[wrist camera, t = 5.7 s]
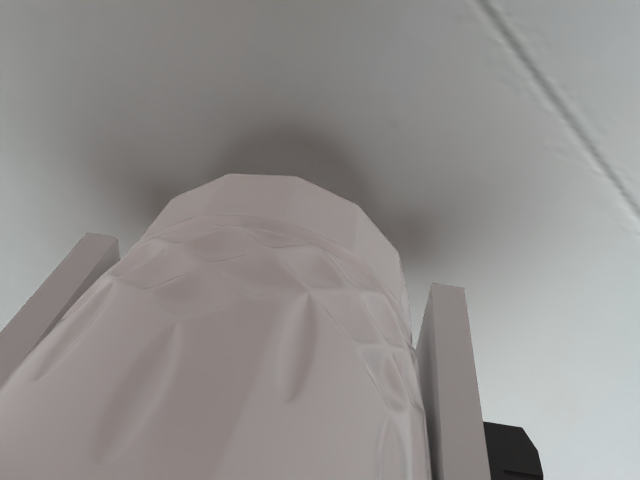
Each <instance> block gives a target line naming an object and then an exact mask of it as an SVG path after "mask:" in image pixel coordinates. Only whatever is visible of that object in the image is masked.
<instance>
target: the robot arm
mask: <svg viewBox="0 0 640 480" xmlns="http://www.w3.org/2000/svg"><path fill="white" fill-rule="evenodd" d="M119 261H120V257H119V248H118V239H117V237H112V236H105V235H98V234H91V233H86V235H85V236H84V237H83V238H82V239H81V240H80V241H79V243H78V244H77V245H76V246H75V247H74V248H73V250H72V251H71V252H70V253H69V254H68V255H67V256H66V258H65V259H64V260H63V261H62V262H61V263H60V265H59V266H58V267H57V268H56V269H55V270H54V271H53V273H52V274H51V275H50V276H49V277H48V278H47V280H46V281H45V282H44V283H43V284H42V285H41V286H40V288H39V289H38V290H37V291H36V292H35V293H34V295H33V296H32V297H31V298H30V299H29V300H28V301H27V303H26V304H25V305H24V306H23V307H22V308H21V309H20V311H19V312H18V313H17V314H16V315H15V316H14V318H13V319H12V320H11V321H10V322H9V323H8V324H7V326H6V327H5V328H4V329H3V330H2V331H1V333H0V385H1V384H2V383H3V382H4V381H5V380H6V378H7V377H8V376H9V375H10V374H11V373H12V371H13V370H14V369H15V368H16V367H17V366H18V365H19V364H20V363H21V362H22V360H23V359H24V358H25V357H26V356H27V355H28V354H29V353H30V352H31V351H32V350H33V349H34V348H35V347H36V346H37V345H38V344H39V343H40V342H41V341H42V340H43V339H44V338H45V337H46V336H47V335H48V334H49V333H50V332H51V331H52V330H53V328H54V327H55V325H56V324H57V323H58V322H59V320H60V319H61V318H62V317H63V316H64V315H65V314H66V312H67V311H68V310H69V309H70V308H71V307H72V306H73V305H74V303H75V302H76V301H77V300H78V299H79V298H80V297H81V296H82V295H83V294H84V293H85V292H86V291H87V290H88V289H89V288H90V287H91V286H92V285H93V284H94V283H95V281H96V280H97V279H98V277H99V276H100V275H101V274H103V273H105V272H106V271H107V270H109V269H110V268H111V267H112V266H114V265H115V264H116V263H117V262H119ZM415 351H416V353H417V356H418V362H419V369H420V378H421V390H422V402H423V406H424V410H425V414H426V426H427V433H428V442H429V451H430V460H431V471H432V480H543V472H542V467H541V463H540V459H539V454H538V451H537V449H536V448H535V446H534V445H533V443H532V442H531V440H530V439H529V437H528V436H527V434H526V433H525V431H524V430H523V428H521V427H515V426H509V425H502V424H496V423H490V422H483V419H482V412H481V405H480V398H479V391H478V384H477V377H476V370H475V362H474V355H473V348H472V341H471V334H470V327H469V320H468V313H467V306H466V298H465V291H464V288H462V287H455V286H448V285H441V284H434V283H432V284H431V288H430V292H429V296H428V301H427V305H426V309H425V313H424V317H423V321H422V326H421V330H420V334H419V338H418V342H417V346H416V350H415Z"/></svg>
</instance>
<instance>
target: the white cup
mask: <svg viewBox="0 0 640 480" xmlns="http://www.w3.org/2000/svg"><path fill="white" fill-rule="evenodd" d="M0 480H432V471H431V460H430V451H429V442H428V433H427V426H426V414H425V410H424V406H423V402H422V390H421V378H420V369H419V362H418V356H417V353H416V351H415V349H414V348H413V346H412V332H411V316H410V305H409V300H408V295H407V290H406V286H405V281H404V276H403V271H402V266H401V262H400V257H399V253H398V251H397V250H396V249H395V248H394V247H393V245H392V244H391V243H390V242H389V241H388V239H387V238H386V237H385V236H384V235H383V234H382V232H381V231H380V230H379V229H378V228H377V227H376V225H375V224H374V223H373V222H372V221H371V220H370V218H369V217H368V216H367V215H366V214H365V212H364V211H363V210H362V209H361V208H360V207H359V206H358V205H357V204H355V203H353V202H351V201H349V200H346V199H344V198H342V197H340V196H338V195H336V194H334V193H332V192H329V191H327V190H325V189H323V188H321V187H319V186H317V185H315V184H312V183H310V182H308V181H306V180H304V179H302V178H300V177H297V176H282V175H257V174H227V175H225V176H222V177H220V178H218V179H215V180H213V181H211V182H208V183H206V184H204V185H201V186H199V187H197V188H194V189H192V190H190V191H187V192H185V193H183V194H180V195H178V196H176V197H174V198H173V199H172V200H171V201H170V202H169V203H168V204H167V205H166V207H165V208H164V209H163V210H162V212H161V213H160V214H159V215H158V217H157V218H156V219H155V220H154V221H153V223H152V224H151V225H150V226H149V228H148V229H147V230H146V231H145V233H144V234H143V235H142V236H141V238H140V239H139V240H138V241H137V242H136V244H135V245H134V246H133V247H132V248H131V249H130V250H129V251H128V252H127V253H126V254H125V255H124V256H123V258H122V259H121V260H120V261H119V262H117V263H116V264H115V265H114V266H112V267H111V268H110V269H109V270H107V271H106V272H105V273H103V274H101V275H100V276H99V277H98V279H97V280H96V281H95V283H94V284H93V285H92V286H91V287H90V288H89V289H88V290H87V291H86V292H85V293H84V294H83V295H82V296H81V297H80V298H79V299H78V300H77V301H76V302H75V303H74V305H73V306H72V307H71V308H70V309H69V310H68V311H67V312H66V314H65V315H64V316H63V317H62V318H61V319H60V320H59V322H58V323H57V324H56V325H55V327H54V328H53V330H52V331H51V332H50V333H49V334H48V335H47V336H46V337H45V338H44V339H43V340H42V341H41V342H40V343H39V344H38V345H37V346H36V347H35V348H34V349H33V350H32V351H31V352H30V353H29V354H28V355H27V356H26V357H25V358H24V359H23V360H22V362H21V363H20V364H19V365H18V366H17V367H16V368H15V369H14V370H13V371H12V373H11V374H10V375H9V376H8V377H7V378H6V380H5V381H4V382H3V383H2V384H1V385H0Z"/></svg>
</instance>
